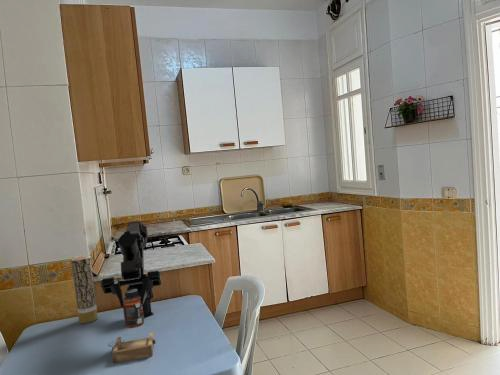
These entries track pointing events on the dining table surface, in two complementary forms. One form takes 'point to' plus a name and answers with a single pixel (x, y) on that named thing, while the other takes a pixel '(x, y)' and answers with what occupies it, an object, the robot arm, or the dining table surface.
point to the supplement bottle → (133, 309)
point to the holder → (133, 349)
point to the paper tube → (84, 288)
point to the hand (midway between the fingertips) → (132, 305)
